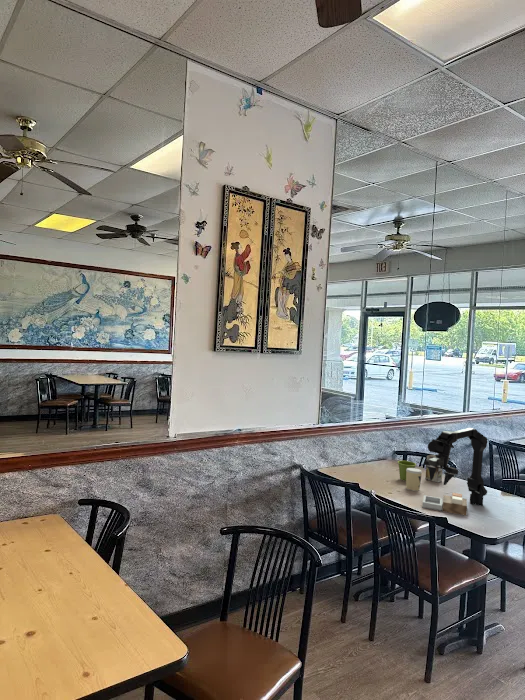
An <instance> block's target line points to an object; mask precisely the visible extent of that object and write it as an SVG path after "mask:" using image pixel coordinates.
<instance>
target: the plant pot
mask: <svg viewBox="0 0 525 700" xmlns="http://www.w3.org/2000/svg"><path fill="white" fill-rule="evenodd" d="M397 464H398V470H399V471H398V473H399V480H401V481H405V482H406V469H407V468H415V467H416V466H417V463H415V462H414V461H410V460H409V461H408V460H398V461H397Z"/></svg>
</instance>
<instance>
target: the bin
mask: <svg viewBox="0 0 525 700" xmlns="http://www.w3.org/2000/svg"><path fill="white" fill-rule="evenodd" d="M421 504H422V506H421V507H422V508H424V509H429V510H434V511H439V512H443V511H442V509H443V497H437V496H431V495H425V494H424V495H423V498H422V503H421Z"/></svg>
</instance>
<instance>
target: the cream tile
mask: <svg viewBox="0 0 525 700" xmlns="http://www.w3.org/2000/svg"><path fill="white" fill-rule="evenodd" d="M451 496H452V495H451ZM462 498H463V497H462ZM462 498H461V497H455V496H452V503H454V504H460V505H462Z"/></svg>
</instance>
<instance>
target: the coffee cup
mask: <svg viewBox="0 0 525 700" xmlns="http://www.w3.org/2000/svg"><path fill="white" fill-rule="evenodd" d="M422 473H423V472H422V470H421V469H419V468H407V469H406V481H405V487H406V490H409V491H414V492H418V491H420V487H421V481H422Z"/></svg>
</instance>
